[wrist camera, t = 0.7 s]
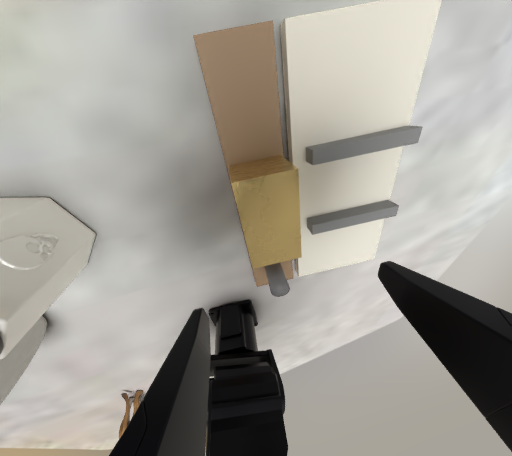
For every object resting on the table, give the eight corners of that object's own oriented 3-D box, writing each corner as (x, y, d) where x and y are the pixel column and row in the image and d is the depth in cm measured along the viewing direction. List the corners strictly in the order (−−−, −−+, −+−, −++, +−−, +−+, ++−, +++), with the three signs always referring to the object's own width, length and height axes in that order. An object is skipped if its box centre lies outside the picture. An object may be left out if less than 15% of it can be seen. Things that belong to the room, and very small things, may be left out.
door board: (368, 253, 26) (397, 281, 22) (255, 279, 25) (262, 314, 21) (427, -2, 13) (532, -60, 8) (195, 41, 12) (180, 3, 8)
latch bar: (287, 230, 20) (301, 257, 16) (247, 239, 20) (252, 268, 16) (280, 154, 16) (298, 168, 12) (229, 165, 16) (231, 182, 12)
